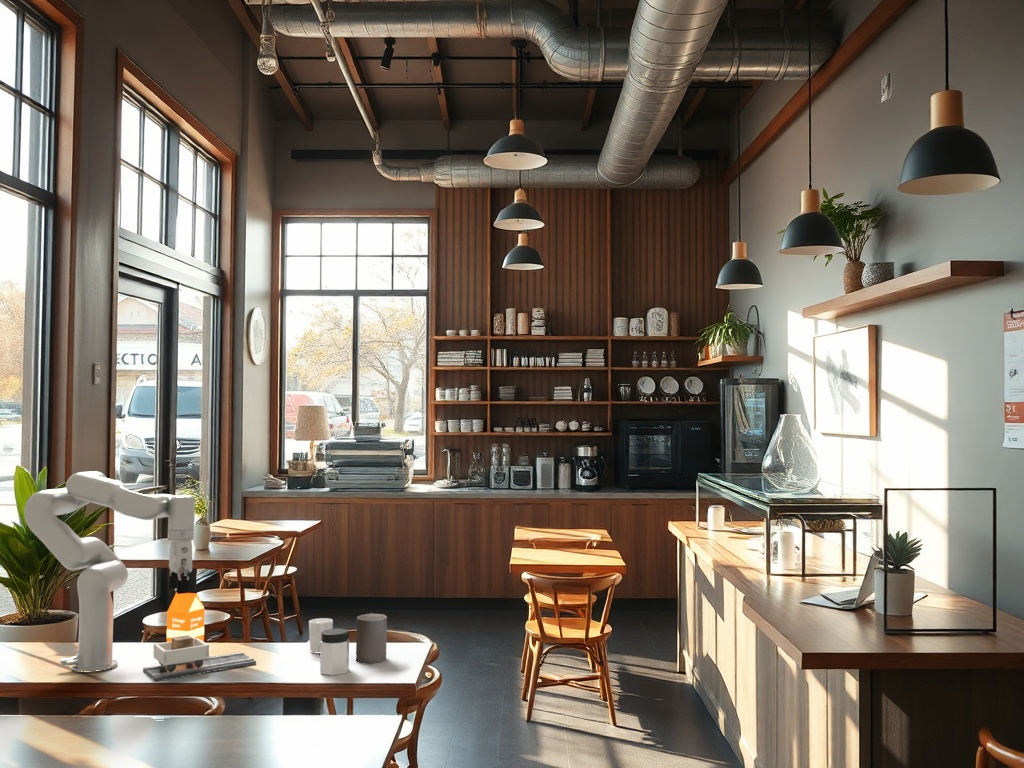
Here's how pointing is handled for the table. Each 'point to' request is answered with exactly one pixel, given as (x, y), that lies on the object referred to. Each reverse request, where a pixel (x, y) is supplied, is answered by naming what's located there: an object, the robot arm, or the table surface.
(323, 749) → the table surface
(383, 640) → the pillar candle
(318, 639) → the white cup
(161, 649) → the cart
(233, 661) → the track
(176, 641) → the walnut block
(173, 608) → the orange juice
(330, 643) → the jar
